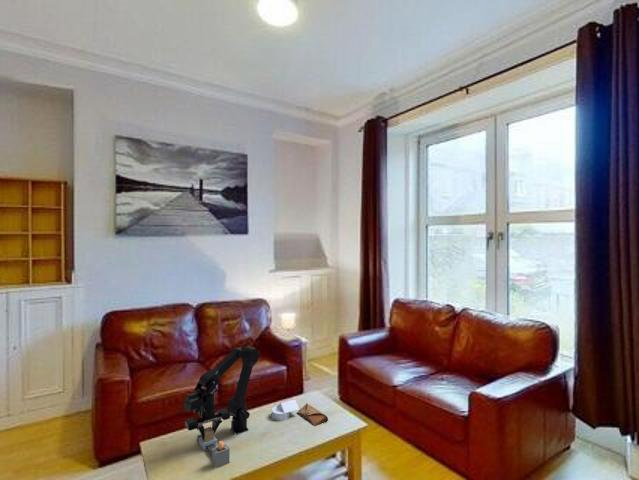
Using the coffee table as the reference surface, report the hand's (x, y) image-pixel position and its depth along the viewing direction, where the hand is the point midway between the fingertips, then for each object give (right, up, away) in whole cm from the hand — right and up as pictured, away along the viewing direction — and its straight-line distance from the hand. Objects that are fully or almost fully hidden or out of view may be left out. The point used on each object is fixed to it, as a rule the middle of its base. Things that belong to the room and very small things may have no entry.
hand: (207, 437), depth 166 cm
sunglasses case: (+46, -4, +26) cm, 53 cm away
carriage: (0, -4, 0) cm, 4 cm away
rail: (+2, -4, -2) cm, 4 cm away
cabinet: (+9, -4, -12) cm, 16 cm away
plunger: (+9, +2, -12) cm, 15 cm away
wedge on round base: (+31, -3, +28) cm, 42 cm away
